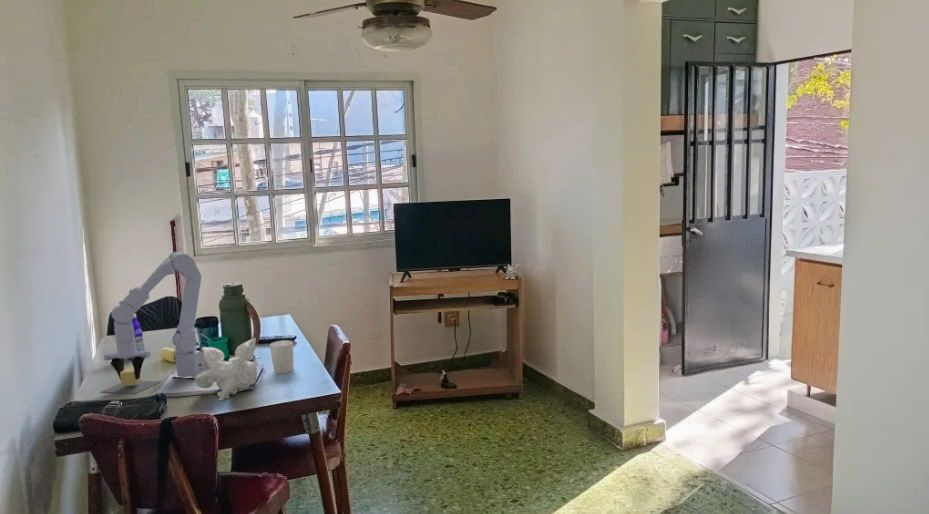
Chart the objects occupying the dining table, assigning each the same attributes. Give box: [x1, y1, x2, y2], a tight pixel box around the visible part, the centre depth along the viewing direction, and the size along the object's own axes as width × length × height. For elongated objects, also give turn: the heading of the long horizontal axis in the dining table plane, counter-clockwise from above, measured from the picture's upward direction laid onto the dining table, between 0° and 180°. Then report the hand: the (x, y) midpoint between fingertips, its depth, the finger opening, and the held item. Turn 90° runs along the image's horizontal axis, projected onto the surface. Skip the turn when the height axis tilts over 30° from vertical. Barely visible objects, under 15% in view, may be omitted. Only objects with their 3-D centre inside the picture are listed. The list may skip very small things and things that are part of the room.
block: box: [119, 367, 142, 386], centre depth 225 cm, size 4×4×4 cm
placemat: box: [100, 380, 162, 395], centre depth 225 cm, size 14×12×1 cm
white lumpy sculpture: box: [194, 337, 258, 402], centre depth 216 cm, size 19×20×20 cm
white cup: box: [269, 339, 294, 374], centre depth 235 cm, size 8×8×10 cm
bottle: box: [127, 313, 146, 360], centre depth 261 cm, size 7×6×17 cm
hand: (130, 378), depth 224 cm, fingers closed on block, 4 cm apart
